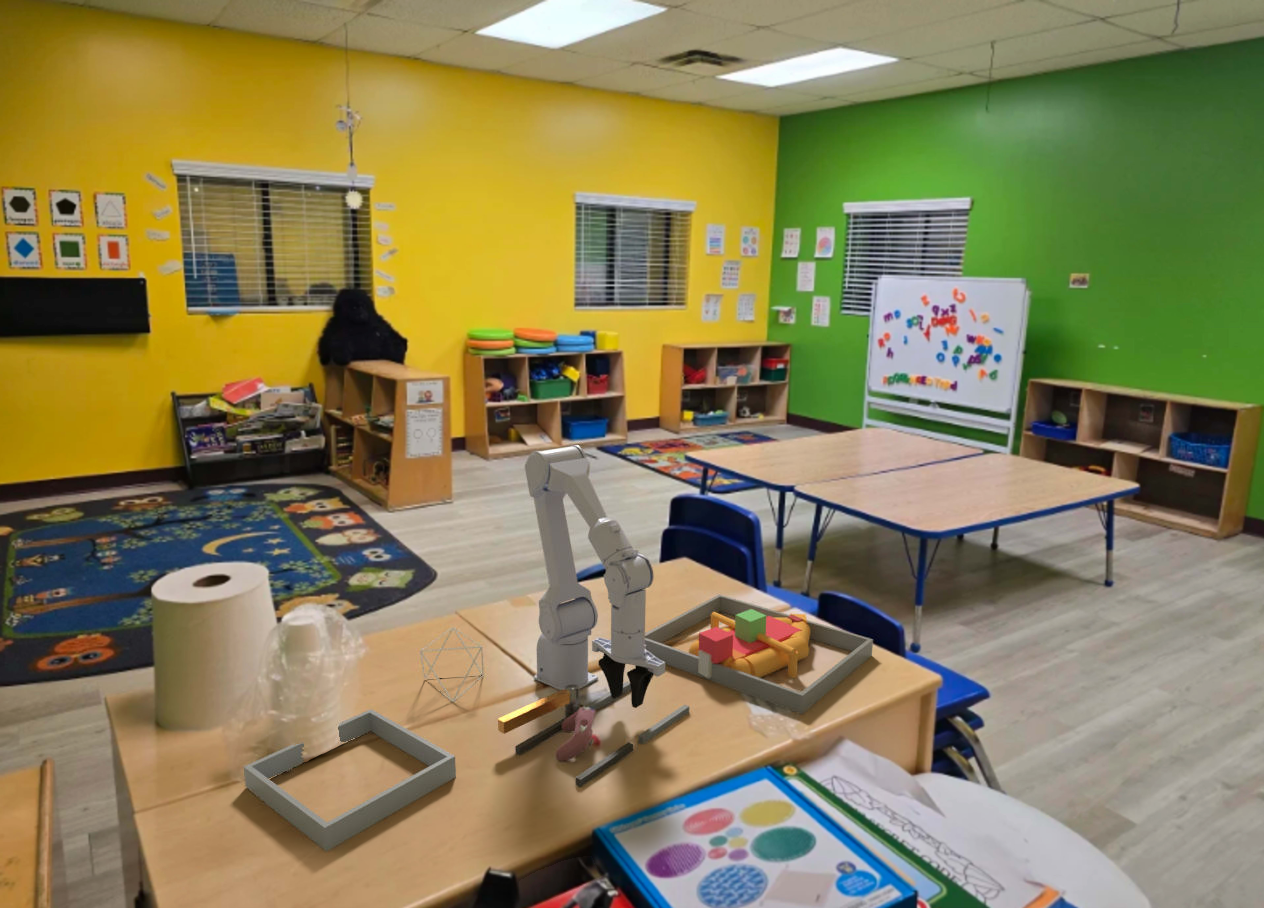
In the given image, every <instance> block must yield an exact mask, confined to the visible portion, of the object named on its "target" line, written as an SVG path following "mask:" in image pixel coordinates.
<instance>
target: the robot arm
mask: <svg viewBox="0 0 1264 908" xmlns="http://www.w3.org/2000/svg"><path fill="white" fill-rule="evenodd" d="M590 466H591V465H590V461H589V460H588V458H587V454H586V453H585V451H584V449H583V448H581V446H580V445H577V444H571V445H570V446H565V447H559V448H552V449H546V450H534V451H532V452H531V453H530V454H529V456H528V457H527V459H526V462H525V464H524V471H525V476H526V480H527V481H526V482H527V487H528V492H529V496H530V497H531V498H533V502H534V509H535V513H536V514H535V515H536V518H537V519H536V520H537V525H538V530H539V537H540V542H541V547H542V553H543V558H544V563H545V569H546V574H547V575H546V576H547V580H548V586H549V587H548V589H547V590H546V591H545V592H544V594H543V595H542V596H541V598H540V599H539V600H538V608H539V616H538V624H539V625H538V626H539V629H540V632H541V634H540V636H539V637H538V640H537V644H536V674H535V675H533V679H534V680H535V681H538V682H540V683H542V684H545V685H547V686H550V687H552V688H554V689H556V690H559V691H561V690H563V689H565V687H566V686H567V685H572V684H573V685H577V686H579V690H580V689H583V688H584V687H586V686H588V685H589V684H591V683H594V682H595V681H597V680H598V679H599V677H598V675H596V674H594V673H591V672H589V636H592V630H593V629H595V627H596V625H597V623H598V619H599V618H598V617H599V615H598V614H599V613H598V609H597V606H596V604H595V603H594V601H593V598H592V594H591V593H592V592H591V590H590V589H589V588H587V587H585V586H584V585H583V584H581V583H579V582H578V577H577V576H578V575H577V571H576V565H575V559H574V553H573V549H572V544H571V539H570V532H569V527H568V522H567V521H568V520H567V516H566V510H565V505H564V499H565V496H566V495H567V496H568V497H569V499H570V500H571V502H572V503H573V505H574V506H575V507H576V510H578V512H579V514H580V515H581V517H582V518H583V520H584V521H585V523H586V524H587V526H588V527H589V530H588V534H587V539H588V540H589V543H590V544H591V546H592V549H594V551H595V553H596V555H597V557H598V559H599V560H600V563H602V566H603V567H604V569H605V573H604V574H603V580H604V584H605V587H606V588H607V589H606V591H607V595H608V596H607V597H608V598H607V599H608V600H609V603H610V604H611V605H610V607H611V608H610V611H611V612H610V615H611V619H610V624H611V625H610V639H608V638H607V639H606V638H603V637H601V636H599V637H596V638H595V639H593V640H591V651H592V652H593V653H602V654H603V656H602V657H601V658H600V659H599V660H598V666H599V668H600V670H601V671H602V672H603V674H604V677H605V679H606V682H607V685H608V689H609V692H610V693H611V697H612V698H613V699H614V700H615V698H616V699H617V698H620V695H621V696H622V695H623V694H622V692H623V684H624V677H625V676H624V675H625V670H626V665H630V666H634V667H635V668H632V669H630V670H629V671H627V672H626V676H627V678H628V682H630V686H631V690H630V691H631V694H630V695H631V698H630V701H631V707H632V708H634V709H637V708H638V707H640V706H642V705H643V704H644V700H645V696H646V693H647V689H648V687H649V685H650V682H651V680H653V677H656V678H659V677H660V676H662V675H664V674H666V664H665V662H664V661H661V660H659V659H658V658H656V657H655V656H654V655H652V654H651V653H650V652H649V651H647V650H646V645H645V633H646V604H647V603H646V597H647V596H646V595H647V592H646V591H647V590H646V589H647V588H650V587H651V586H652V585H653V582H654V569H653V566H652V563H651V562H650V560H649V558H648V557H647V556H645V555H644V554H642V553H640V552H639V550H637V549H634V548H633V546H632V544H631V543H630V541H629V539H628V538H627V535H626V534H625V533H624V530H623V529H622V527H621V525H620V523H619V522H618V521H617V520H616V519H613V518H609V517H608V515H607V514H606V511H605V509H604V507H603V505H602V503H601V500H600V499H599V496H598V494H597V492H596V490H595V488H594V485H593V483H592V481H591V479H590V477H589V476H590V469H591V467H590Z"/></svg>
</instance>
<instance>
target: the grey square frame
mask: <svg viewBox="0 0 1264 908" xmlns="http://www.w3.org/2000/svg"><path fill="white" fill-rule="evenodd" d="M339 723H340V724H339ZM339 723H338V724H339V726H338V730H339V737H340V741H341V742H346V741H349V740H351V739H353V738H357V737H358V736H361V735H363V734H365V733H367V734H369V733H370V732H369V731H372V732H373V734H374V733H375V735H376V736H377V735H378V736H377V737H379V738H381V739H383V740H384V741H385V742H388V743H389V744H391V745H393V746H394V747H396V748H397V749H400V750H401V751H403V752H405V753H407V754H408V755H410V756H411V757H413V758H415V759H416V760H418V761H420V762H421V763H423V764H425V765H426V766H427V767H426V768H423V769H422V770H420V771H418V772H417V773H415V774H413V775H412V776H409V777H407V778H406V779H404V780H402V781H400V782H398V783H397V784H395V785H393V786H391V787H389V788H388V789H385V790H383V791H382V792H380V793H378V794H376V795H375V796H373V797H370V798H368V799H367V800H366V801H364V802H362V803H360V804H357V805H356V806H354V807H352V808H351V809H349V810H347V811H345V812H344V813H342V814H340V815H338V816H336V817H334V818H332V819H330V820H328V821H326V820H324V819H323V818H322V817H320V815H318V814H317V813H315V812H314V811H313V810H311V809H310V808H308V807H307V806H305V805H304V804H303V803H301V802H300V801H299V800H298V799H296V798H295V797H293V796H292V795H291V794H290V793H288V792H287V791H286V790H284V789H283V788H281V787H280V786H279V785H277V784H276V783H275V782H273V781H272V779H271V780H269V778H271V777H273V776H275V775H278V774H280V773H283V772H285V771H287V770H289V769H291V768H293V767H296V766H298V765H299V764H302V763H303V761H304V760H303V759H304V758H302V757H301V756H302V755H303V754H302V753H301V752H302V751H304V750H303V749H302V747H304V744H303V743H304V742H303V743H300V744H296V745H293V744H290V745H289V746H285V747H284V748H282V749H280V750H278V751H275V752H272V753H271V754H268V755H267V756H264V757H262V758H259V759H258V760H255V761H253V762H251V763H249V764H246V765H244V766H243V774H244V782H245V783H244V786H245V788H246V787H247V788H248V789H250V790H251V791H252V792H253V793H255V794H256V795H257V796H258V797H259V798H260V799H259V798H258V797H257V796H256V797H257V798H258V799H259V800H261V801H262V800H263V801H264V802H265V803H264V802H263V801H262V802H263V803H264V804H266V805H267V806H269V808H271V809H272V810H273V809H274V810H273V811H274V812H276V813H277V814H278V815H280V816H281V817H282V818H283V819H285V820H286V821H287V822H289V823H290V824H291V825H293V827H295V828H297V830H299V831H300V832H302V833H303V834H304V835H305V836H306V837H308V838H309V839H310V840H312V841H313V842H314V843H316V845H318V846H319V847H321V848H322V849H323V850H325V851H326V852H328V851H330V850H331V849H333V848H335V847H336V846H340V844H342V843H344V842H346V841H348V840H349V839H350V838H351V839H352V838H353V837H354V836H356V835H358V834H359V833H361V832H362V831H364V830H366V829H367V828H369V827H371V826H373V825H375V824H376V823H378V822H380V821H382V820H384V819H386V818H387V817H389V816H391V815H392V814H394V813H396V812H397V811H399V810H401V809H403V808H404V807H406V806H408V805H409V804H411V803H413V802H416V801H417V800H419V799H420V798H422V797H424V796H425V795H428V794H429V793H431V792H433V791H434V790H436V789H439V788H440V787H441V786H443V785H445V784H446V783H448V782H450V781H451V780H454V779H455V778H456V777H457V770H456V767H457V766H456V756H455V755H454V754H452V753H451V752H448V751H446V750H445V749H444V748H441V747H440V746H438V745H436V744H434V743H432V742H431V741H429V740H427V739H425V738H424V737H422V736H420V735H418V734H416V733H415V732H413V731H411V730H409V729H408V728H406V727H404V726H402V725H401V724H399V723H397V722H396V721H393V720H391V718H388V717H386V716H384V715H383V714H381V713H379V712H377V711H375V710H374V709H372V708H370V709H367V710H366V711H364V712H361V713H359V714H357V715H354V716H353V717H350V718H348V719H346V720H344V721H341V722H339ZM368 732H369V733H368ZM372 732H371V733H372ZM365 735H366V734H365ZM363 736H364V735H363ZM361 737H362V736H361ZM357 739H358V738H357ZM302 765H303V764H302ZM298 767H299V766H298ZM296 768H297V767H296ZM291 770H292V769H291ZM289 771H290V770H289ZM287 772H288V771H287ZM285 773H286V772H285ZM283 774H284V773H283ZM248 789H247V790H248ZM252 792H251V793H252ZM253 793H252V794H253Z"/></svg>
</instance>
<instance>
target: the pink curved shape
mask: <svg viewBox="0 0 1264 908" xmlns="http://www.w3.org/2000/svg"><path fill="white" fill-rule="evenodd" d="M585 706H586V705H583V706H582V707H579V710H578V711H577V712H575V713H574V714H573V715H571V716H569V717H568V718H567V719H565V720H564V722H563V723H562V726H561V728H562V731H563V732H564V733H573V735H572V737H570V739H568V740H567V741H566V742H564V743H563V744H562V745H560V746H559V747H558V748H557V750H556V751H555V758H556V759H557V761H560V762H564V761H565V762H566V761H571V760H572V759H573V758H575V757H578V755H580V754H581V753H582V752H583V751H585V750H586V749H587V747H588V746H591V745H593V743H594V738H593V737H592V736H593V732H594V730H593V729H592V727H593V724H594V719H595V718H596V717H595V716H596V713H597V710H594V709H592V708H589V707H585Z"/></svg>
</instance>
